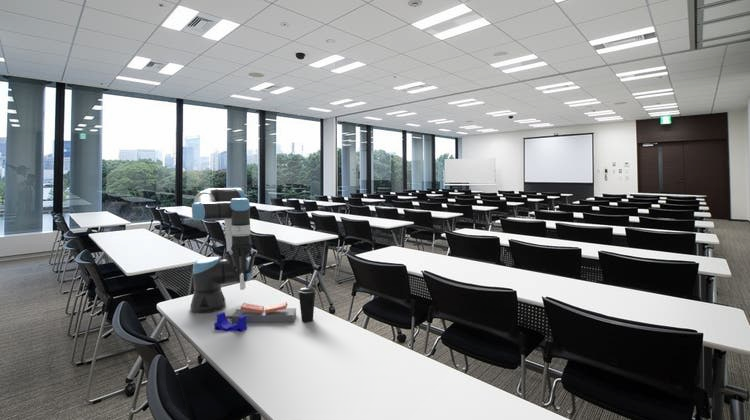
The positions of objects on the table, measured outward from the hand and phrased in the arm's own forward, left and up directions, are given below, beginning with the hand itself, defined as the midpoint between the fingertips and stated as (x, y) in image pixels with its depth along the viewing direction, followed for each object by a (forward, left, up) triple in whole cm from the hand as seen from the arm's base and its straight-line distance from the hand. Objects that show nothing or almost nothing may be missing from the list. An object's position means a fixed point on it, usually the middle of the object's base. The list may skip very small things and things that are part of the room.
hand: (242, 288), depth 155 cm
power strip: (+5, +4, -14) cm, 15 cm away
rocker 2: (+11, +9, -10) cm, 17 cm away
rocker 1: (+3, +2, -10) cm, 10 cm away
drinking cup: (+23, +16, -14) cm, 31 cm away
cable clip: (+3, -9, -15) cm, 17 cm away
